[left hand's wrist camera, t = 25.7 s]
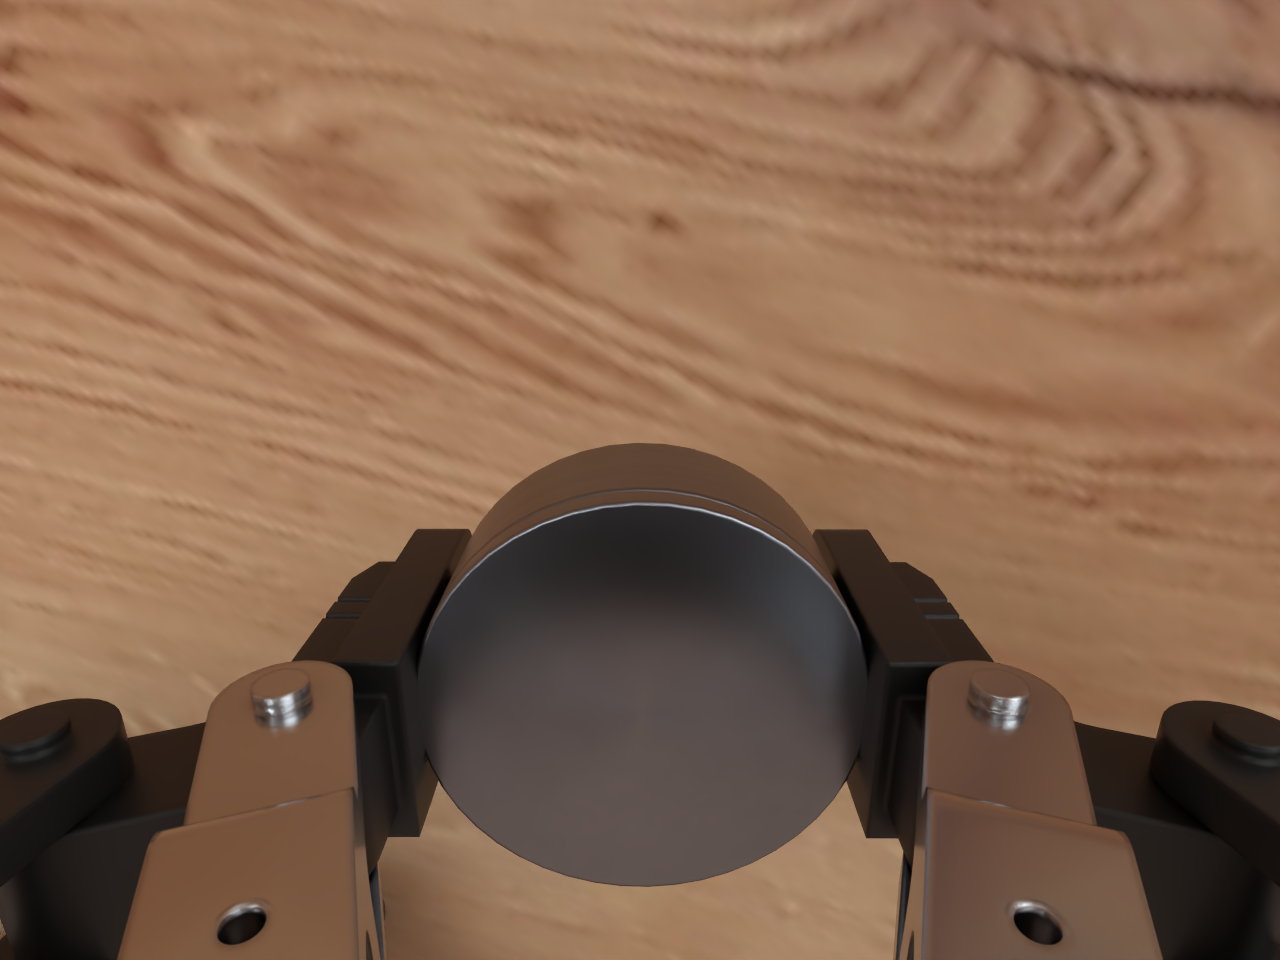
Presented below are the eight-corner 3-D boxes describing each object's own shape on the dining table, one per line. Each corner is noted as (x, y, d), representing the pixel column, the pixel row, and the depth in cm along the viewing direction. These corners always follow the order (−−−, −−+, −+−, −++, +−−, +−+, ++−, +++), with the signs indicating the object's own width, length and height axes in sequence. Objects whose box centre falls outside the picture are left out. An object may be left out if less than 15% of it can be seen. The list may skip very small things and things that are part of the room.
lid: (520, 383, 10) (491, 430, 8) (896, 520, 10) (955, 596, 8) (408, 712, 11) (363, 819, 9) (740, 814, 12) (759, 933, 10)
